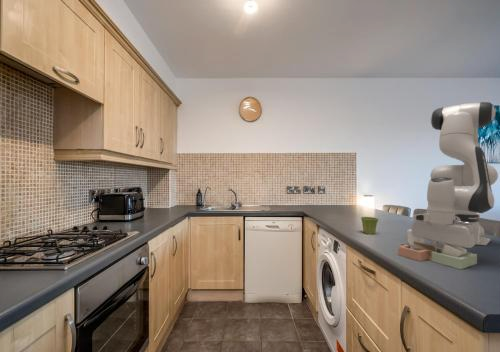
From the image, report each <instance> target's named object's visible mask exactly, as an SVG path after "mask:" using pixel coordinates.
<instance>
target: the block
mask: <svg viewBox="0 0 500 352" xmlns="http://www.w3.org/2000/svg"><path fill="white" fill-rule="evenodd" d="M466 252H468V250H467V248H464V247H460V246H456V245H451V244H446V245H445V247H444V249H443V252H442V254H445V255H449V256H453V257H457V258H460V257H463V256H465V254H466Z"/></svg>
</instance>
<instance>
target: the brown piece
mask: <svg viewBox="0 0 500 352" xmlns="http://www.w3.org/2000/svg"><path fill="white" fill-rule="evenodd" d="M403 245H408V246H409V249H411V245H409V244H407V243H401V245H400V246H403ZM442 247H443V246H439V248H442ZM413 250H417V251H421V250H428V259H427V260H430V261H431V260H432V252H435V247H434V246H433V244H430V243H429V244H428V243H425V242H423V243H421V242H417V241H414V246H413Z"/></svg>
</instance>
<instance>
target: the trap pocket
mask: <svg viewBox="0 0 500 352" xmlns="http://www.w3.org/2000/svg"><path fill="white" fill-rule="evenodd" d="M408 245H409V244H407V245H403V246H401V245H400V246H398V250H397V251H398V252H397V253H398V256H400V257H404V258H408V259H411V260H413V261H419V262H422V261H426V260H428V250H421V251H419V250H415V249H414V248H410V249H409V246H408Z"/></svg>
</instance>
